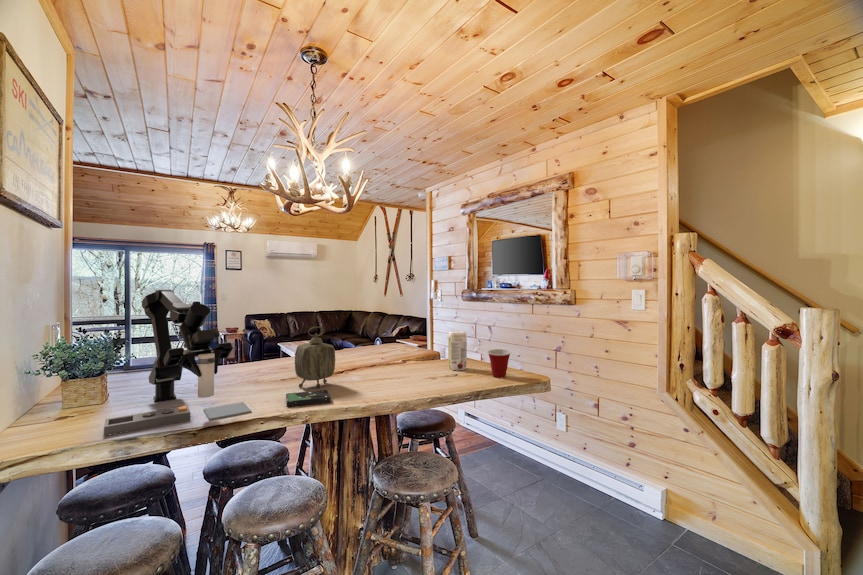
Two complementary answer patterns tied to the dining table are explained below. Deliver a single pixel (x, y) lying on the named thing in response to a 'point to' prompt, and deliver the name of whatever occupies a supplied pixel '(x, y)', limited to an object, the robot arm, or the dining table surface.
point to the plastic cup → (499, 362)
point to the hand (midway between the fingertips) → (208, 374)
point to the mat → (226, 411)
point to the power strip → (146, 420)
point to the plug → (206, 375)
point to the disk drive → (307, 398)
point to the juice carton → (457, 350)
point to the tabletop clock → (314, 360)
